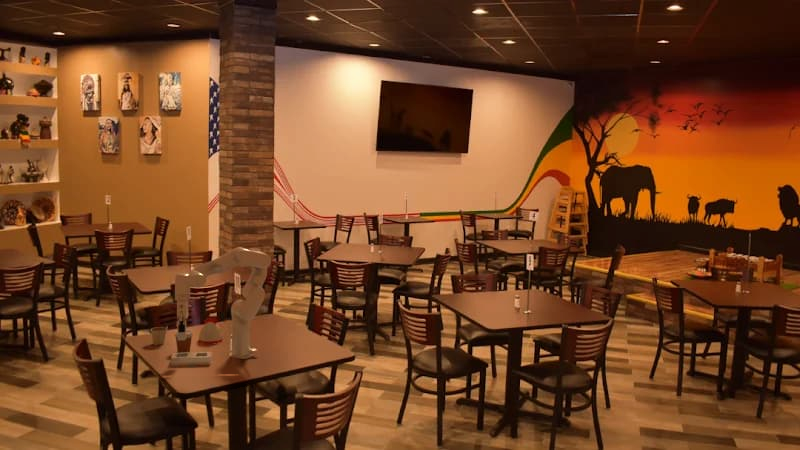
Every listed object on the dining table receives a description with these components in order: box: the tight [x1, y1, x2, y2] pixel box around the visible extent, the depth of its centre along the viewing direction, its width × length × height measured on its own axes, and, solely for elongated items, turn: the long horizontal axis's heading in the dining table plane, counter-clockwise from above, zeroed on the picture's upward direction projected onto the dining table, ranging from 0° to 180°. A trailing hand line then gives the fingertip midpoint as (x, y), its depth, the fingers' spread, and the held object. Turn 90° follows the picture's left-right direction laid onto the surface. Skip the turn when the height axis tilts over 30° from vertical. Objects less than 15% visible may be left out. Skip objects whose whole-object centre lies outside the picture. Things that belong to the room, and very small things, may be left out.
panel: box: [170, 351, 213, 367], centre depth 362 cm, size 20×10×5 cm, turn 102°
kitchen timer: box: [198, 315, 224, 345], centre depth 405 cm, size 14×14×15 cm
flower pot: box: [149, 326, 168, 346], centre depth 396 cm, size 9×9×9 cm
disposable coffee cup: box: [174, 330, 193, 352], centre depth 379 cm, size 10×10×12 cm
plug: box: [176, 319, 187, 340], centre depth 359 cm, size 5×4×10 cm
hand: (182, 330), depth 359 cm, fingers closed on plug, 4 cm apart
